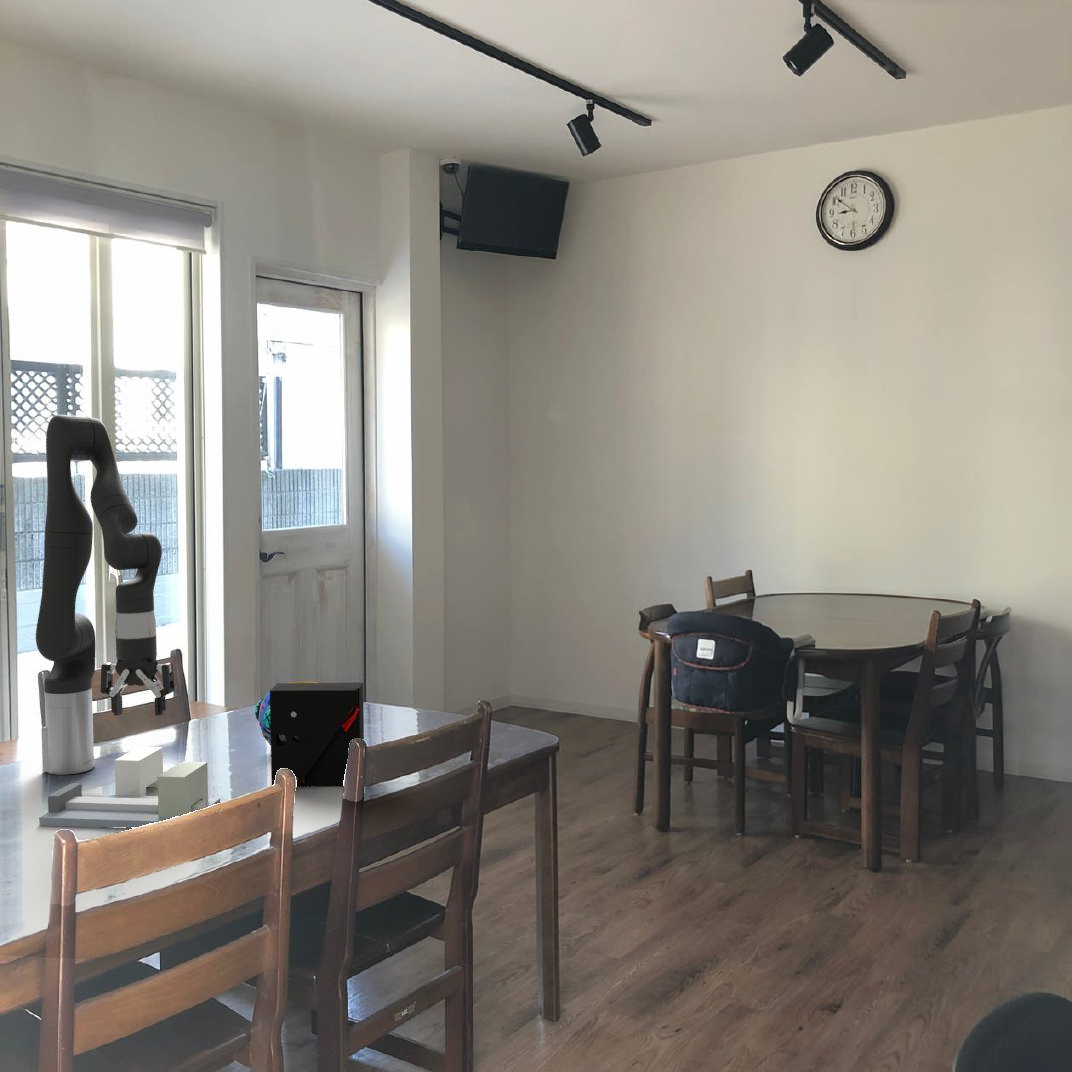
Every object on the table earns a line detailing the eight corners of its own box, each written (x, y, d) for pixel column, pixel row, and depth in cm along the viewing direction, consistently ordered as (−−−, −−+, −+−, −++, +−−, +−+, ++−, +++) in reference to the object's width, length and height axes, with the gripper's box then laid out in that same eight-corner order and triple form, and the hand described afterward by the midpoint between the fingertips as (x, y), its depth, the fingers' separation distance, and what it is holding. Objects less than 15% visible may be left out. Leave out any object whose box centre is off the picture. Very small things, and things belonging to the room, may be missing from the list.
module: (115, 797, 209) (114, 760, 208) (139, 783, 218) (138, 746, 218) (140, 798, 208) (139, 760, 208) (163, 783, 218) (162, 747, 217)
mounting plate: (39, 825, 192) (37, 776, 192) (80, 801, 206) (79, 755, 206) (188, 830, 189) (187, 780, 189) (220, 806, 203) (219, 759, 203)
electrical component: (365, 774, 224) (364, 680, 223) (359, 789, 214) (358, 690, 213) (281, 775, 223) (279, 681, 222) (270, 790, 213) (269, 691, 212)
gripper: (178, 631, 214) (181, 711, 215) (111, 631, 216) (113, 710, 217) (161, 637, 207) (164, 720, 208) (92, 636, 208) (94, 719, 209)
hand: (138, 715), depth 212 cm, fingers open, 8 cm apart
